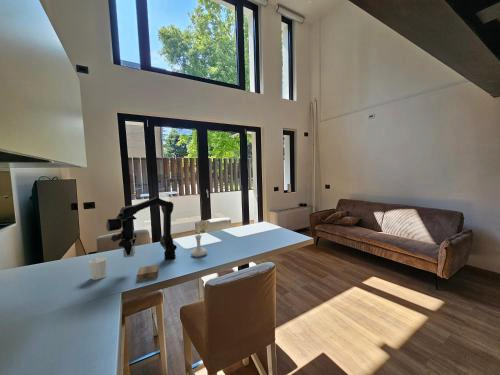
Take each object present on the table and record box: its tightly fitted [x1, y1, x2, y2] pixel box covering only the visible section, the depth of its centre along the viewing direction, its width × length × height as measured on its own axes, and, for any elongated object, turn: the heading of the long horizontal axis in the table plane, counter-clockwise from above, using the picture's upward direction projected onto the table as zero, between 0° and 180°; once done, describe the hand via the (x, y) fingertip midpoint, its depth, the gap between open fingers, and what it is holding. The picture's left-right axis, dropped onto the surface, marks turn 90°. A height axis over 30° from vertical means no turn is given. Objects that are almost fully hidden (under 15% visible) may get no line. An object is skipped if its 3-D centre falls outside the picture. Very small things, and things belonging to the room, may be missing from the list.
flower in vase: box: [190, 219, 209, 258], centre depth 149 cm, size 13×11×25 cm
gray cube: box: [122, 245, 136, 259], centre depth 125 cm, size 5×5×5 cm
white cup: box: [88, 256, 107, 281], centre depth 120 cm, size 8×8×10 cm
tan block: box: [136, 264, 159, 282], centre depth 120 cm, size 10×10×4 cm
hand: (129, 253), depth 125 cm, fingers closed on gray cube, 5 cm apart
